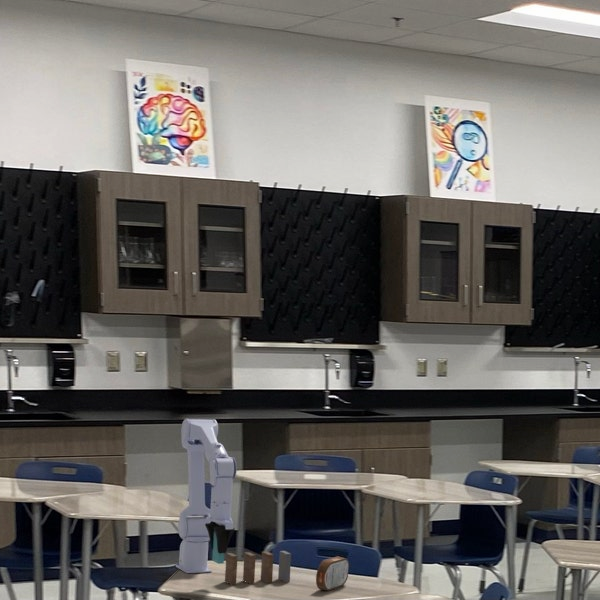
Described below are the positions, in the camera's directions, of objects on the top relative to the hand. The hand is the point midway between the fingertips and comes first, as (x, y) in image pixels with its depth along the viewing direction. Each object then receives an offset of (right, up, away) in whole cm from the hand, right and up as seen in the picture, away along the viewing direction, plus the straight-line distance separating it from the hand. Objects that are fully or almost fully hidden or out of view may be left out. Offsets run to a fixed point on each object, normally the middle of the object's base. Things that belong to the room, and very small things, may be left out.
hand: (218, 551), depth 320 cm
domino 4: (+18, -11, +12) cm, 24 cm away
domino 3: (+13, -11, +10) cm, 19 cm away
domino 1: (+3, -10, +5) cm, 12 cm away
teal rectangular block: (0, -3, 0) cm, 3 cm away
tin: (+31, -12, +6) cm, 34 cm away
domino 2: (+8, -10, +8) cm, 15 cm away
